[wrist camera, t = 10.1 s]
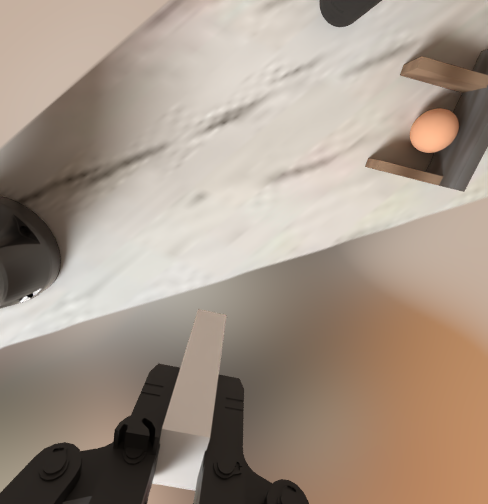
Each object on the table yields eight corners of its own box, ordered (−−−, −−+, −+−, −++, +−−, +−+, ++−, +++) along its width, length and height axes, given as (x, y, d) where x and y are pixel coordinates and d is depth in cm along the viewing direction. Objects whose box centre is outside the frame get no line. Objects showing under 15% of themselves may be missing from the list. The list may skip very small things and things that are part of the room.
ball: (449, 160, 30) (435, 155, 34) (476, 114, 28) (458, 115, 32) (407, 147, 31) (398, 144, 35) (430, 102, 29) (418, 104, 33)
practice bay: (365, 166, 35) (386, 171, 30) (416, 32, 30) (454, 8, 24) (430, 183, 36) (464, 191, 30) (491, 54, 31) (545, 35, 25)
